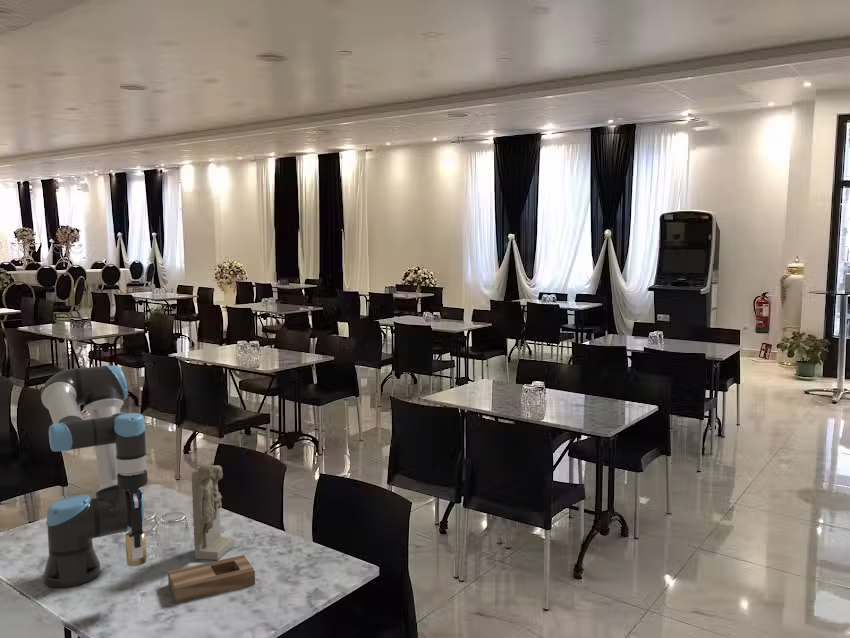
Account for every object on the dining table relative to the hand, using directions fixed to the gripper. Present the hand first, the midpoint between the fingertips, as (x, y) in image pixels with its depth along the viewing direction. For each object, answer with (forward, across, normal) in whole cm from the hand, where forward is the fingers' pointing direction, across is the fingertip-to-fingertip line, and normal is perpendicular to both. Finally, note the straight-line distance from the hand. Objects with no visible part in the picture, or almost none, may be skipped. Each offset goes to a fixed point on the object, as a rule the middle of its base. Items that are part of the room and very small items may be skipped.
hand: (136, 553), depth 192 cm
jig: (+14, 0, -20) cm, 24 cm away
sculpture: (+14, +21, -25) cm, 35 cm away
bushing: (+2, 0, 0) cm, 2 cm away
